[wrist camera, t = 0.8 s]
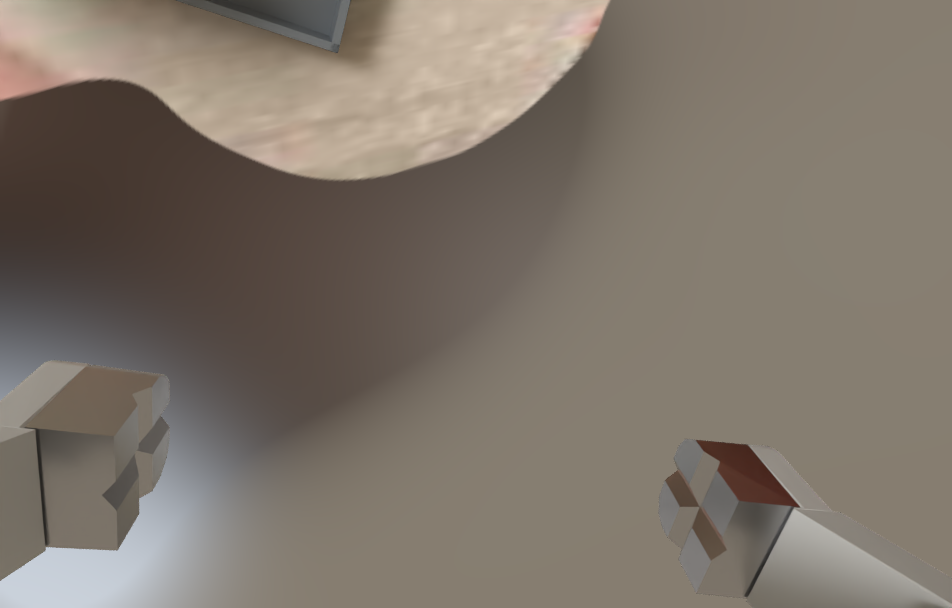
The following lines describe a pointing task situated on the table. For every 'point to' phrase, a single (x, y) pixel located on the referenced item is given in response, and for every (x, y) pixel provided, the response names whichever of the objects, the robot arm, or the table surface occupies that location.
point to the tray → (287, 17)
